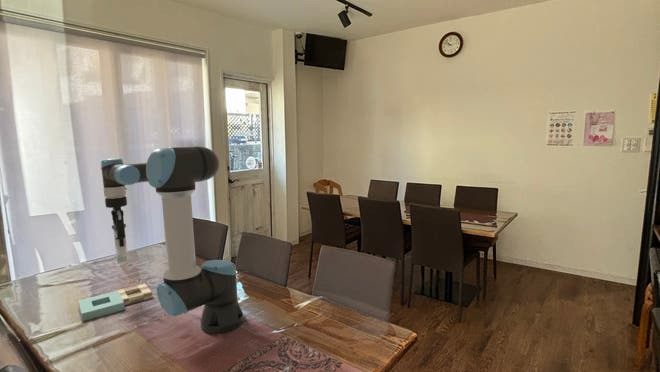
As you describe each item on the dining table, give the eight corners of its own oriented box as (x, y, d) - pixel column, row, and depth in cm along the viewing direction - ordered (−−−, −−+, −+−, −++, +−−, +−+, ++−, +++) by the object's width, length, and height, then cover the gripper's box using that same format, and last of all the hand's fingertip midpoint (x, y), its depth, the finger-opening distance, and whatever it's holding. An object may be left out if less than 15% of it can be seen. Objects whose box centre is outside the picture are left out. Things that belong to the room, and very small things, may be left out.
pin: (130, 260, 149) (126, 225, 147) (116, 263, 146) (112, 227, 144) (128, 257, 153) (124, 222, 151) (114, 260, 150) (111, 224, 148)
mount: (152, 297, 153) (151, 292, 153) (120, 306, 146) (119, 300, 145) (145, 288, 162) (145, 283, 162) (115, 296, 155) (114, 290, 155)
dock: (124, 309, 143) (124, 302, 143) (82, 321, 135) (81, 313, 134) (118, 297, 154) (118, 290, 154) (79, 307, 145) (78, 300, 145)
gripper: (129, 198, 141) (135, 255, 144) (123, 193, 154) (128, 245, 158) (107, 200, 136) (113, 259, 140) (102, 195, 150) (108, 249, 153)
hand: (121, 252), depth 149 cm, fingers closed on pin, 4 cm apart
